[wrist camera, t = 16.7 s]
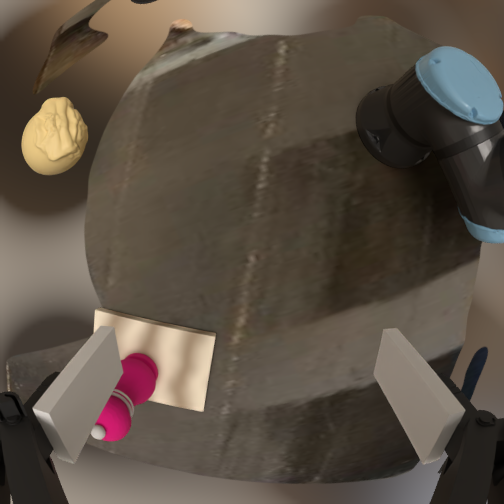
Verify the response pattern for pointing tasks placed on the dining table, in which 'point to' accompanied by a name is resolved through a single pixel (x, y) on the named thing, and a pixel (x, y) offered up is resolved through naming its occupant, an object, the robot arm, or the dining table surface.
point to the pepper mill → (126, 397)
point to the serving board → (166, 355)
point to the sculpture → (54, 137)
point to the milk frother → (142, 1)
